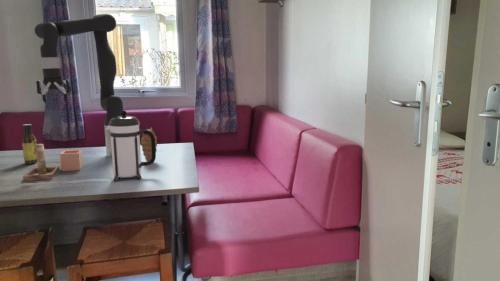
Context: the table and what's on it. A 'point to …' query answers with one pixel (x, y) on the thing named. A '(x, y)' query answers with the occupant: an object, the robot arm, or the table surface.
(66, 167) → the pink open box
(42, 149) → the dowel
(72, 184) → the table surface
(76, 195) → the table surface
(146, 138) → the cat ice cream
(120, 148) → the coffee press
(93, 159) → the table surface
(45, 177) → the tray
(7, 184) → the table surface
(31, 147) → the sauce bottle
